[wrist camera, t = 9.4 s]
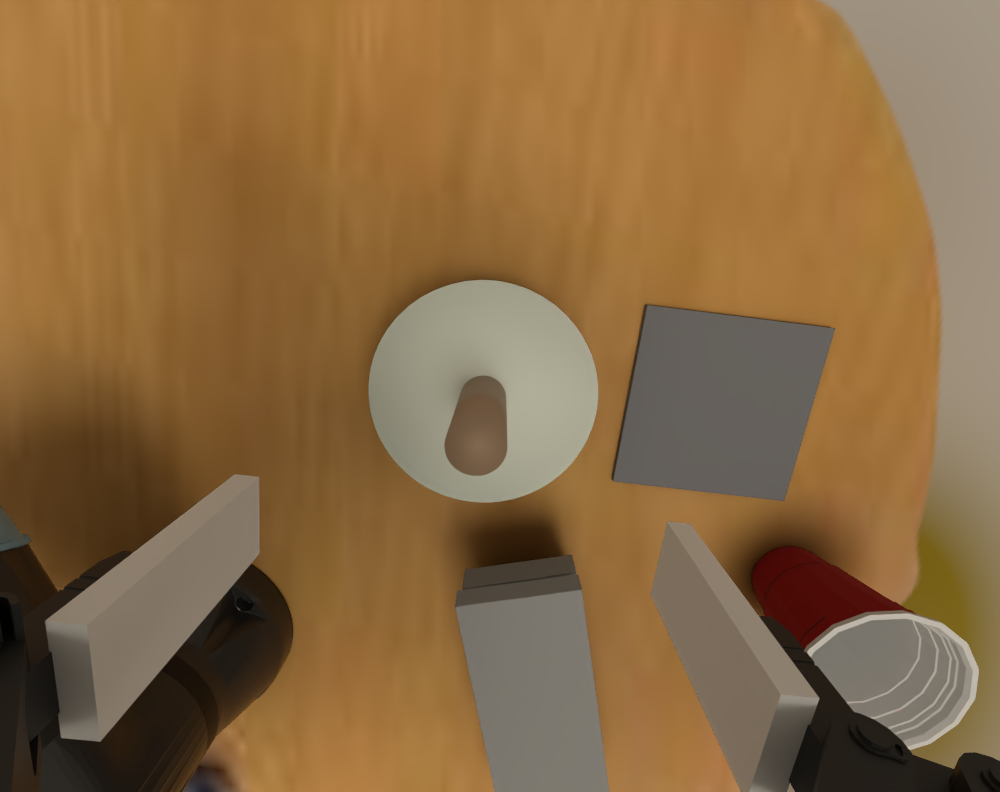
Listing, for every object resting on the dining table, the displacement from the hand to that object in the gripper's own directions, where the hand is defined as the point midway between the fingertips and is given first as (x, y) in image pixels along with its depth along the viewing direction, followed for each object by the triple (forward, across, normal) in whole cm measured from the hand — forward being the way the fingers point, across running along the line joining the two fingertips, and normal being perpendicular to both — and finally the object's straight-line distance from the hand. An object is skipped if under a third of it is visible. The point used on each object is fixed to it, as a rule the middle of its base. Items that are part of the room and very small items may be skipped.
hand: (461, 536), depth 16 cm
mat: (+23, +18, 0) cm, 29 cm away
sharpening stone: (+23, +7, -23) cm, 33 cm away
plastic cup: (+23, +27, -14) cm, 38 cm away
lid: (+18, 0, 0) cm, 18 cm away
